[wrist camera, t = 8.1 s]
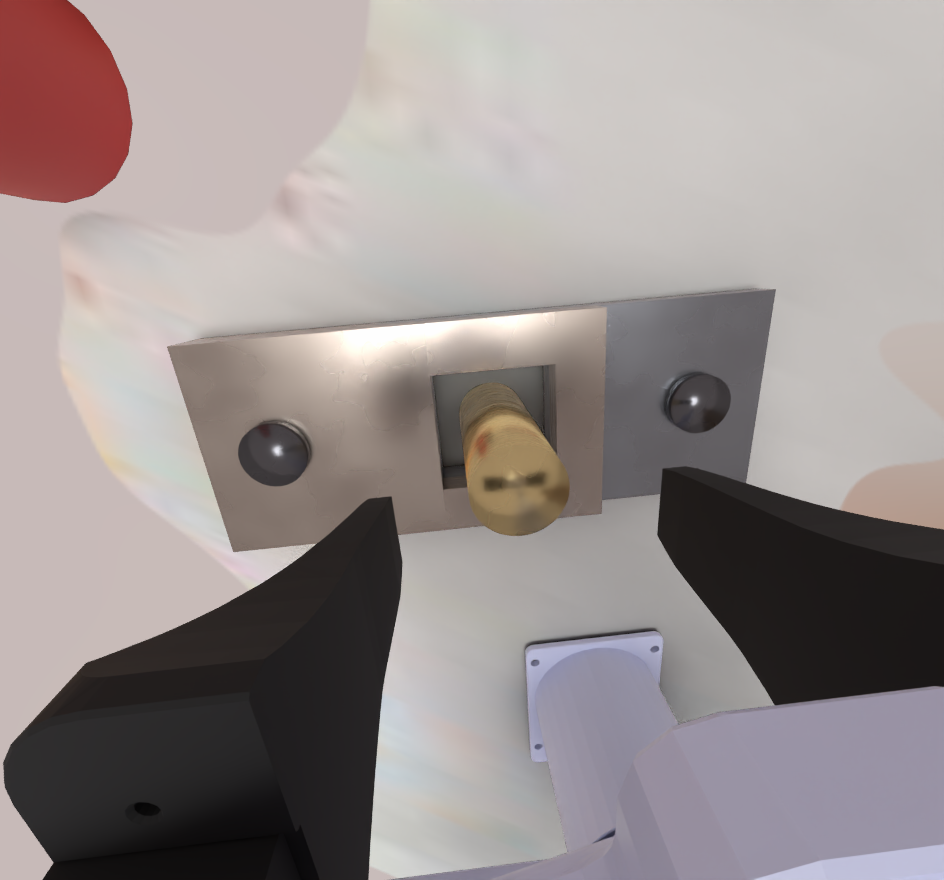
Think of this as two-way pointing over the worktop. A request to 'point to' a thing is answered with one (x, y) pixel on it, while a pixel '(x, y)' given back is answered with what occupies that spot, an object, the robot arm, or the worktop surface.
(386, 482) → the door strike plate
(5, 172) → the beer can
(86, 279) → the worktop surface
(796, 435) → the worktop surface
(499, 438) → the brass pin
